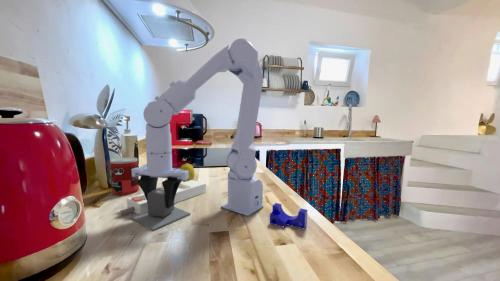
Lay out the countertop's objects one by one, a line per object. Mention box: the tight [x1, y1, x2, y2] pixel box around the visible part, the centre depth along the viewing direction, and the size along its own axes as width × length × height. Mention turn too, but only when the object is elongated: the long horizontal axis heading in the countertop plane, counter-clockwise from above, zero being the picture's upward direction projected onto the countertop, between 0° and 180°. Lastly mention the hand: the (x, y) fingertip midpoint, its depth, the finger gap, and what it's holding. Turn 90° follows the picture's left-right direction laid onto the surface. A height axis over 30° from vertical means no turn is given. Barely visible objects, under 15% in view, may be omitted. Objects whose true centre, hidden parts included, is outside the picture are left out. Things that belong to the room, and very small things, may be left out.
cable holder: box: [269, 202, 308, 229], centre depth 51 cm, size 8×4×4 cm, turn 60°
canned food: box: [109, 156, 140, 196], centre depth 71 cm, size 8×8×11 cm
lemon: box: [179, 162, 196, 183], centre depth 80 cm, size 6×6×8 cm
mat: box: [130, 206, 191, 232], centre depth 54 cm, size 10×10×1 cm
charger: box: [148, 187, 175, 217], centre depth 54 cm, size 4×4×6 cm
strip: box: [119, 179, 207, 216], centre depth 64 cm, size 25×7×4 cm, turn 144°
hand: (161, 205), depth 54 cm, fingers closed on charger, 4 cm apart
